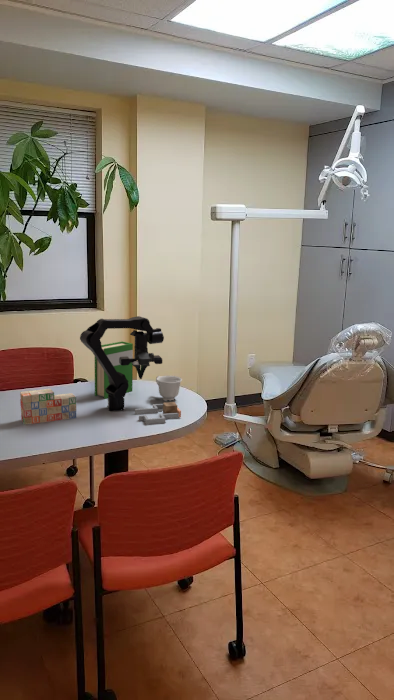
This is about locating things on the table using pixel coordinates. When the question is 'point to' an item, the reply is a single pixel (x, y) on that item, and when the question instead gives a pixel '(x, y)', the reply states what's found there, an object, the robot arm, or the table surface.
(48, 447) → the table surface
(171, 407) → the walnut block
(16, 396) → the table surface
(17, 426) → the table surface
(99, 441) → the table surface
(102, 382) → the hardback book
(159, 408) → the trap lane
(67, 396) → the stack of blocks
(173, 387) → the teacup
